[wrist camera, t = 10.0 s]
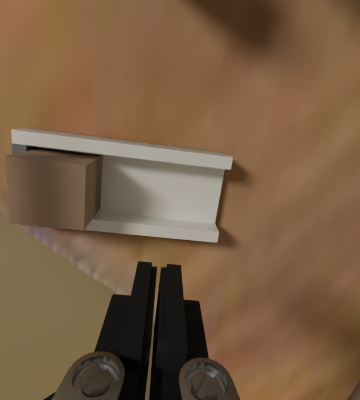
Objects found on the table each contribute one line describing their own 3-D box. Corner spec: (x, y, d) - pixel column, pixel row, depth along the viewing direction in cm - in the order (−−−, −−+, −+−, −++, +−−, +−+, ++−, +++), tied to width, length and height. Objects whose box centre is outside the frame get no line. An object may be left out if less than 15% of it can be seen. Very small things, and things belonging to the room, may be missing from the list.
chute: (225, 153, 28) (233, 157, 25) (211, 230, 31) (217, 242, 28) (29, 128, 26) (11, 129, 23) (31, 212, 29) (16, 223, 26)
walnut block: (102, 155, 27) (85, 165, 21) (100, 207, 28) (83, 230, 23) (40, 147, 26) (5, 155, 20) (41, 201, 28) (9, 223, 22)
